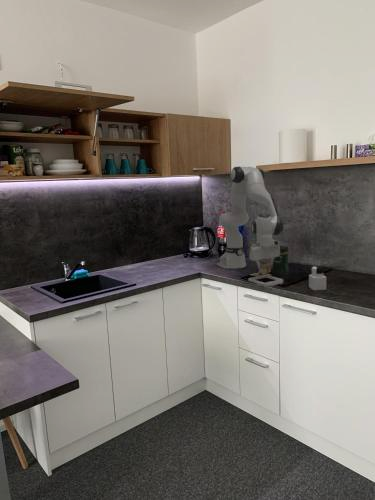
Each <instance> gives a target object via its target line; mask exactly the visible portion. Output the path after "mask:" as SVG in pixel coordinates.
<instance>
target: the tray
mask: <svg viewBox="0 0 375 500" xmlns="http://www.w3.org/2000/svg"><path fill="white" fill-rule="evenodd" d="M266 278H267V279H270V280H273V281H267V282H263V281H259V280H261V279H266ZM247 280H248V282H251V283H254V284H257V285H260V287H262V288H270V287H274V286H278V284H280V285H283V284H284V278H279V277H276V276H272V275H263V276H258V277H256V276H253V277H249V278H248V279H247Z"/></svg>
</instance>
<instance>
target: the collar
mask: <svg viewBox="0 0 375 500" xmlns="http://www.w3.org/2000/svg"><path fill="white" fill-rule="evenodd" d="M259 263H260V264H261V267H260V268H259V267H258V273H267V274H270V273H271V271H272V270H271V269H272V268H271V265H270V261H262V262H261V261H260V262H259Z"/></svg>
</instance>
